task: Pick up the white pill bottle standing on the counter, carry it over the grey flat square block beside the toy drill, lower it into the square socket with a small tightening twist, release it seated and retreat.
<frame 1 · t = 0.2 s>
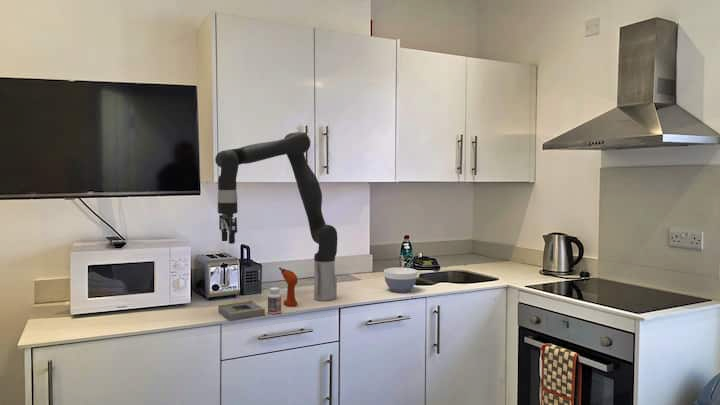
hand: (228, 242, 200), 28 cm above the countertop, fingers open, 8 cm apart
toy drill: (286, 302, 219), on the countertop
pill bottle: (274, 312, 203), on the countertop
grey flat square block: (241, 313, 201), on the countertop
bowl: (400, 290, 243), on the countertop
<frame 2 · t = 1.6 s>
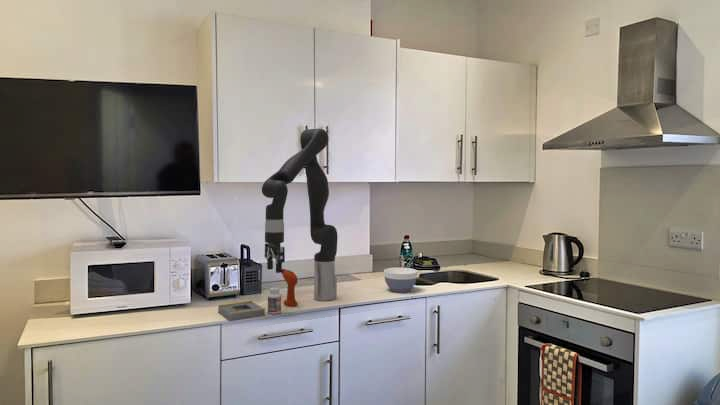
hand: (274, 270, 202), 17 cm above the countertop, fingers open, 8 cm apart
nothing on the countertop moved.
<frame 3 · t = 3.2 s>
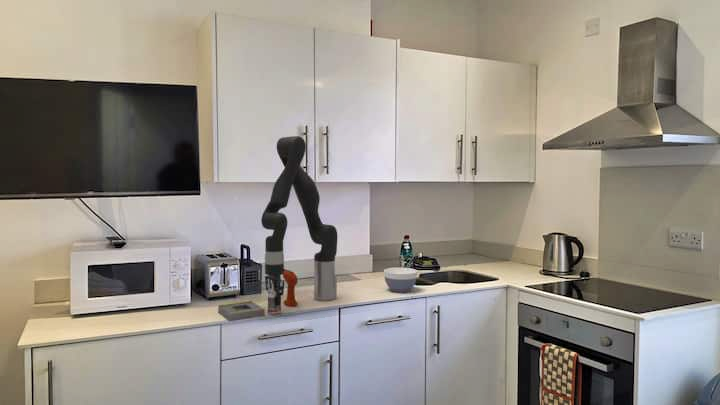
hand: (274, 303, 203), 4 cm above the countertop, fingers closed on pill bottle, 5 cm apart
pill bottle: (274, 312, 203), on the countertop, touching gripper
everything else where it was.
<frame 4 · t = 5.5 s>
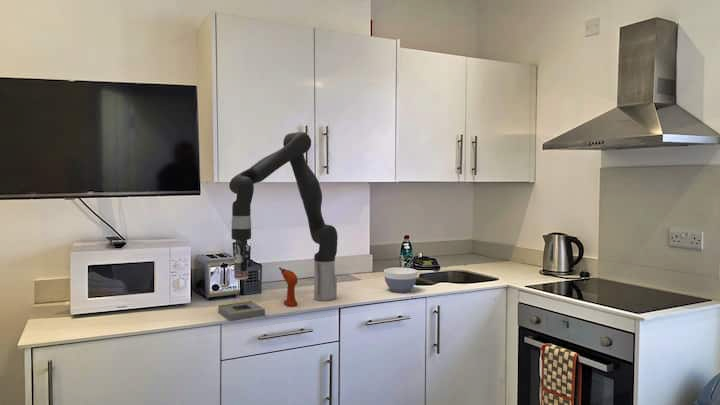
hand: (241, 269, 200), 18 cm above the countertop, fingers closed on pill bottle, 5 cm apart
pill bottle: (241, 279, 200), point 14 cm above the countertop, touching gripper
everything else where it was.
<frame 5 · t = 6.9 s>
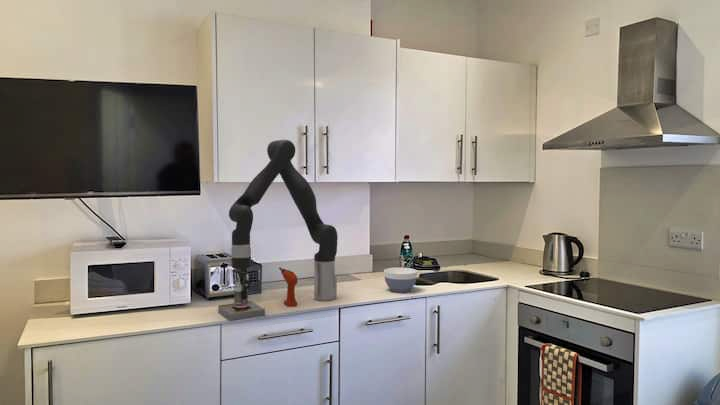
hand: (241, 297, 201), 6 cm above the countertop, fingers closed on pill bottle, 5 cm apart
pill bottle: (241, 306, 201), point 3 cm above the countertop, touching gripper
everything else where it was.
when the fingers open (4 cm above the countertop, at t = 7.9 s): pill bottle stays where it is, resting in grey flat square block.
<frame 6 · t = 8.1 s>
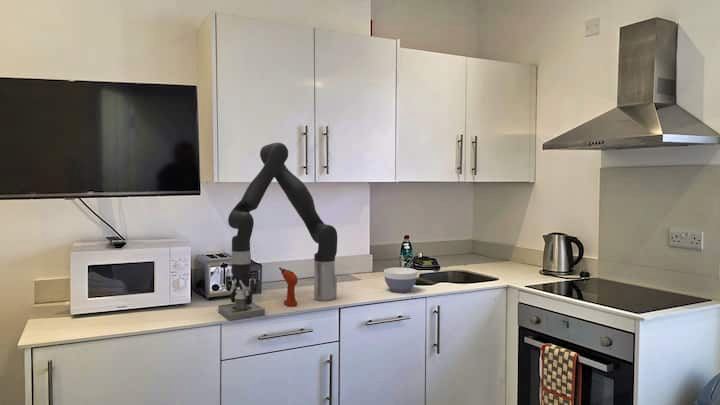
hand: (241, 303, 201), 4 cm above the countertop, fingers open, 7 cm apart
pill bottle: (241, 314, 201), resting in grey flat square block
everything else where it was.
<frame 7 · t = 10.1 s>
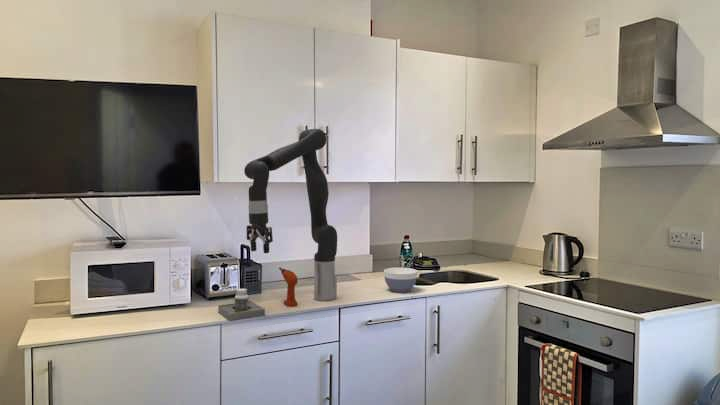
hand: (259, 252, 203), 24 cm above the countertop, fingers open, 8 cm apart
nothing on the countertop moved.
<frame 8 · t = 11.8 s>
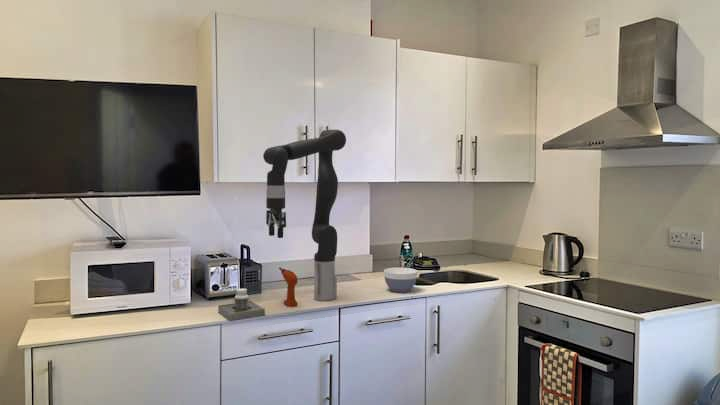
hand: (275, 236, 205), 30 cm above the countertop, fingers open, 8 cm apart
nothing on the countertop moved.
at the end: pill bottle 0.1 cm off-centre on the grey flat square block, point 0.0 cm above the grey flat square block's base; pill bottle tilted 0°; the gripper is holding nothing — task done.
